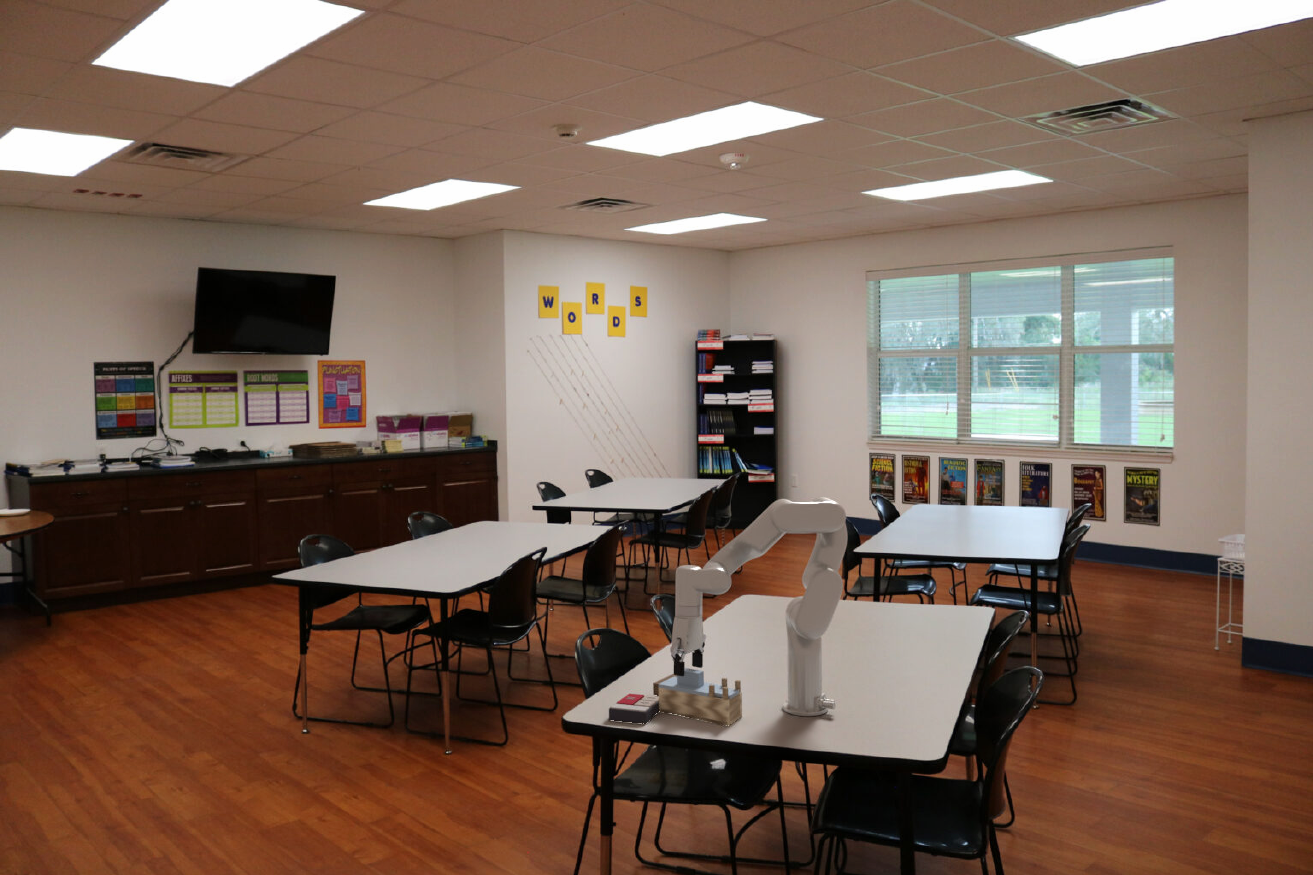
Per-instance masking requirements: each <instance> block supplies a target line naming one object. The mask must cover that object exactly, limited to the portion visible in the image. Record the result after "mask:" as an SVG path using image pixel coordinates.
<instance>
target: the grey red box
mask: <svg viewBox="0 0 1313 875" xmlns="http://www.w3.org/2000/svg"><path fill="white" fill-rule="evenodd" d="M658 712H659V696H653V695H648V694H647V695H645V694H638V693H628V694H626V695H625V696H623V697H622V698H621V699H619V700H618V701H617V702H616V703H615V704H612V706H610V707H609V708H608V721H609V720H614V721H622V722H621V723H623V722H632V723H642V724H643V723H644V724H646V723H647V722H648V721H649V720H650V719H651V720H652V719H653V718H654V717H655V716H656V715H655V714H656V713H658ZM659 713H660V712H659ZM659 713H658V714H659ZM654 715H655V716H654ZM653 716H654V717H653ZM614 721H613V722H614ZM632 723H631V724H632ZM648 723H649V722H648ZM648 723H647V724H648ZM647 724H646V725H647Z"/></svg>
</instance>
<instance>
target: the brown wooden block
mask: <svg viewBox="0 0 1313 875" xmlns="http://www.w3.org/2000/svg"><path fill="white" fill-rule="evenodd" d="M672 677H677V675H674V673H672V674H670V675H667V676H665V677H664V678H661V679H659V680H657V681H655V682H653V684H652V687H653V688H652V689H653V692H652V693H653V695H657V696H659V684H660V683H662V682H664V681H666V680H668V679H670V678H672ZM653 695H652V696H653Z"/></svg>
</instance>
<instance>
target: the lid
mask: <svg viewBox="0 0 1313 875" xmlns="http://www.w3.org/2000/svg"><path fill="white" fill-rule="evenodd" d="M704 675H705V672H704V670H699V669H693V668H687V667H685V670H684V676H683V677H682V676H677V677H672V678H670V679H668V680H666V681H664V682H662V683H660V684H659V688H664V689H669V690H674V691H680V692H685V693H690V694H695V695H701V696H706V697H709V685H715V697H721V698H723V691H722V688H723V687H722V684H718V683H712V682H705V679H704V678H705V676H704ZM738 694H739V690H736V689H735V688H729V687H728V699H731V698H733V697H735V696H736V695H738Z"/></svg>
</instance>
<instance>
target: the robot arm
mask: <svg viewBox="0 0 1313 875" xmlns="http://www.w3.org/2000/svg"><path fill="white" fill-rule="evenodd" d="M846 520H847V514H846V511H845V508H844V507H843V506H842V505H841V504H840V503H839V502H837V501H835V500H833V499H831V498H829V497H825V496H822V497H821V496H820V497H817V498H814V499H812V501H810V502H797V501H796V502H794V501H791V500H790V499H786V498H780V499H777V500H775V501H774V502H772V503H771V504H770V505H768V507H767V508H766V509H765V510H764V511H763V512H762V513H761V514H760V515H758V517H756V518H755V520H753V521H752V523H750V524H749V525H748V526H747V527H746V528H745V529H744V530H742V532H741V533H739V534H738V535H737V536H735V537H734V538H733V539H732V540H730V541H729V542H728V543H727V544H725V545H724V546H723V547H722V548H720V549H719V550H718V551H717V552H716V553H715V554H714V555H713V556H712V557H711V559H709V560H708V561H707V562H706V563H705V564H704V566H703V567H702V568H701V567H700V566H698V565H695V564H693V565H692V564H683V565H679V566H677V568H676V569H675V570H676V571H675V602H674V603H675V605H674V606H675V613H674V614H675V616H674V619H673V625H672V634H671V646H670V648H669V650H670V651H669V652H670V653H671V659H672V661H673V674H674V675H677V676H682V677H683V676H684V670H685V668H686V667H685V661H684V660H685V657H686V655H687V654H690V653H691V666H692V667H694V668H700V669H702V668H703V666H704V665H703V664H704V663H703V662H704V659H703V658H704V651H705V650H704V648H705V645H706V644H705V643H706V638H707V635H706V634H704V623H703V622H704V621H703V594H710V595H722V594H725V593H727V592H728V591H729V589H730V588H731V586H732V577H731V576H732V574H733V573H735V571H737V570H738V569H739V568H741V567H742V565H744V564H746V563H747V562H749V561H751V560H753V559H758V558H760V557H762V556H763V555H765V554H766V553H767V552H768V551H769V550H770V549H772V547H774V545H775V544H777V543H778V541H780V539H781V538H782V537H783V536H784V535H785V534H800V535H801V534H805V535H806V534H816V537H815V538H816V539H815V543H814V546H813V548H812V551H811V554H810V557H809V558H808V561H807V564H806V567H805V568H804V571H803V573H802V577H801V581H802V585H803V588H804V589H805V591H804V595H802V596H801V595H800V596H796V597H794V598H793V599H792V600H791V601H790V602H789V603H788V604H787V606H786V609H785V626H786V628H785V629H786V639H787V641H786V642H787V656H786V657H787V700H785V701H783V702H782V706H781V707H782V710H783V711H784V712H786V713H787V714H790V715H794V716H798V717H799V716H800V717H814V716H815V717H816V716H820V715H823V714H825V713H827V712H828V710H829V709H830V710H835V709H836V702H835V700H834V699H828V698H827V696H826V692H823V657H822V656H823V642H822V637H823V635H825V634H826V632H827V631H828V629H829V628H830V625H831V623H832V620H833V617H834V616H835V612H836V611H837V607H838V606H839V602H840V600H841V597H842V595H843V594H842V593H843V589H844V584H843V583H844V582H843V578H842V576H841V575H840V573H839V570H840V567H841V564H842V562H843V558H844V557H845V552H846V549H847V546H848V529H847V525H846V524H847V523H846Z"/></svg>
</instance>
